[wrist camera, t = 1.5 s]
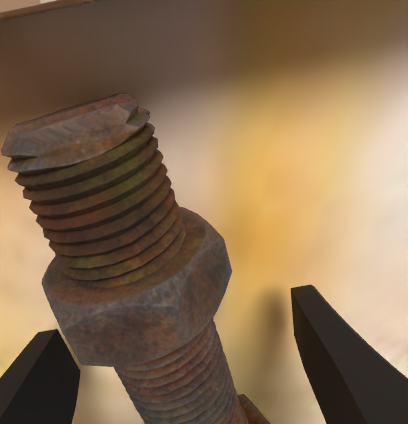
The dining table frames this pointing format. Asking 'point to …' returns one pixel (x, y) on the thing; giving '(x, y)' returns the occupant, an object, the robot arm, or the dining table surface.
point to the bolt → (129, 261)
